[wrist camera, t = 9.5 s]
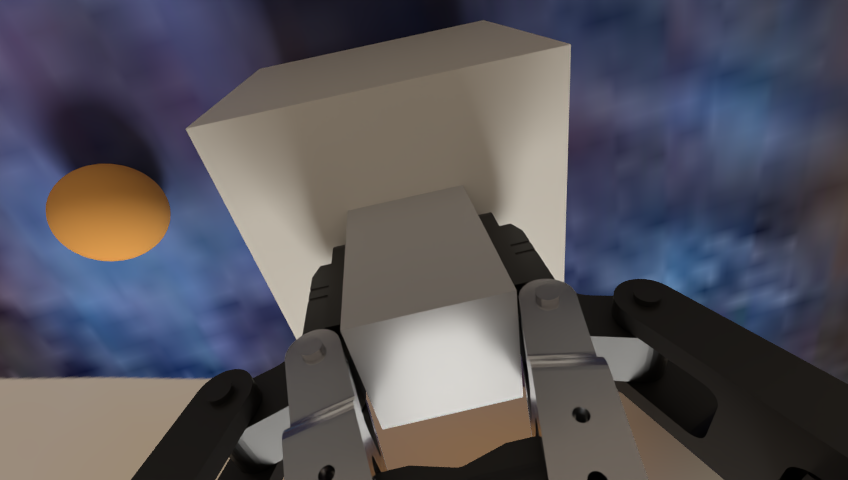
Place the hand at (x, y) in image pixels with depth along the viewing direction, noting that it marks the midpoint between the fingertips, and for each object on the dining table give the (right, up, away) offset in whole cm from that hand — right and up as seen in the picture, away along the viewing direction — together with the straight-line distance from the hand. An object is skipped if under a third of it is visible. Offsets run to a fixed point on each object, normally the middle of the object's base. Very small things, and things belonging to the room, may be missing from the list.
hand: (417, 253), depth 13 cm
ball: (-16, +2, +8) cm, 18 cm away
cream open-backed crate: (-1, +5, +8) cm, 9 cm away
